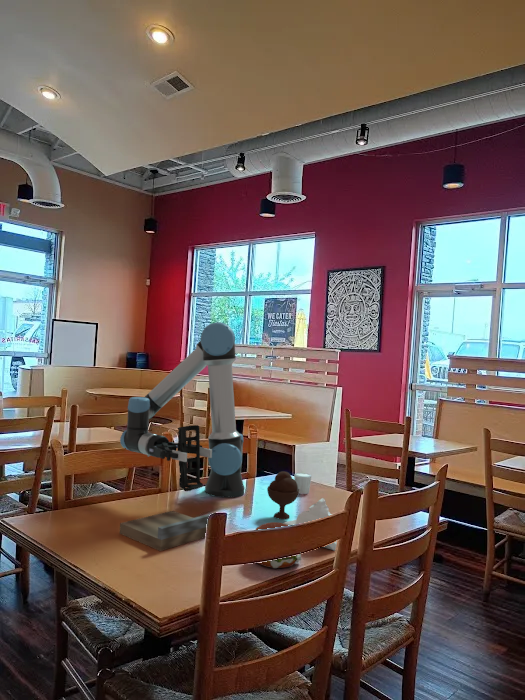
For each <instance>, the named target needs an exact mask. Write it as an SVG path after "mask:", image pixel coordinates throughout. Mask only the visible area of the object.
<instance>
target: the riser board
mask: <svg viewBox="0 0 525 700" xmlns="http://www.w3.org/2000/svg"><path fill="white" fill-rule="evenodd" d="M210 514H211V513H208V514H204V515H200V516H196V517H192V516H189V515H187V514H184V513H180V512H178V511H176V510H170V511H167V512H161V513H157V514H153V515H150V516H149V515H148V516H145V517H141V518H137V519H136V518H135V519H133V520H129V521H123V522H120V524H119V535H122V536H124V537H127V538H129V539H132V540H133V541H136V542H138V541H139V543H140V544H143V545H146V546H147V547H151V548H152V549H155V550H157V551H159V552H163V551H164V550H167V549H171V548H175V547H178V546H182V545H184V544H188V543H191V542H194V541H198V540H201V539H205V538H206V537H205V533H206V524H207V519H208V517H209V515H210Z"/></svg>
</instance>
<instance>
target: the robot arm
mask: <svg viewBox="0 0 525 700" xmlns="http://www.w3.org/2000/svg"><path fill="white" fill-rule="evenodd" d="M235 342H236V336H235V333H234V331H233V329H232V328H231V327H230V326H229V325H228V324H227V323H224V322H218V321H216V322H212V323H210V324H208V325H207V326H205V328H204V329H203V330H202V332H201V336H200V340H199V342H197V343H196V345H195V349H194V350H193V351H191V353H189V354H188V356H187V357H185V358H184V360H182V361H181V362H180V363H179V364H178V365H177V366H176V367H175V368H174V369H173V370H172V371H170V372H169V374H167V375H166V376H165V377H164V378H163V379H162V380H161V381H160V382H159V383H158V384H156V385H155V387H153V388H152V389H151V390H150V391H149V392H148V393H147V394H146V395H145V396H144V397H143V396H134V397H133V396H132V397H130V398H129V400H128V405H127V424H126V425H127V426H126V430H124V431H123V432H121V436H120V439H119V443H120V445H121V447H122V448H123V449H125V448H126V449H125V450H127V451H130V452H135V453H138V454H143V455H146V456H147V457H148V458H149V457H154V458H160V459H161V460H164V459H166V461H167V462H169V461H171V459H172V460H175V461H178V462H179V461H183V462H187V458H188V454H194V455H196V451H190V452H187V453H184V452H180V451H179V449H178V442H173V441H169V439H168V437H166V436H164V435H161V434H160V435H159V434H155V433H151V432H149V422H150V419H152V418H153V417H154V416H155V415H156V414H157V413H158V412H159V411H160V410H161V409H162V408H163V407H164V406H165V405H166V404H168V402H170V400H172V399H173V398H174V397H175V396H176V395H177V394H179V392H180V391H181V390H182V389H184V387H185V386H186V385H188V384H189V383H190V382H191V381H192V380H193V379H194V378H195V377H197V375H198V374H200V373H201V372H202V371H203V370H204V369H205V368H206V367H207V368H208V372H207V373H208V385H209V386H208V388H209V401H210V402H209V405H210V418H211V433H210V434H209V436H208V448H207V447H203V445H201V444H200V457H203V458H207V461H208V464H209V466H210V473H209V476H208V478H207V480H206V481H207V482H206V483H205V485H204V493H205V494H207V495H209V496H212V497H217V498H237V497H238V498H239V497H242V496H243V495H244V494H245V486H244V482H243V476H242V464H243V446H244V436H243V434H242V433H240V432H239V431H238V430H237V424H236V410H235V408H236V407H235V394H234V380H233V379H234V378H233V375H234V374H233V363H234V362H235V360H236V359H237V358H236V343H235ZM191 445H192V447H196V444H192V443H191ZM186 447H187V443H186ZM187 463H188V462H187Z"/></svg>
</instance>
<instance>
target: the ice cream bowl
mask: <svg viewBox="0 0 525 700" xmlns="http://www.w3.org/2000/svg"><path fill="white" fill-rule="evenodd" d="M267 494H268V497H269V498H270V499H271V501H272V502H274V503H276V504H277V505H278V506H279V510H278V511H277V512H276V513H274V514H273V518H275V517H276V518H275V519H277V518H279V519H278V520H289V519H290V514H289V513H287V512H285V508H286V506H288V505H290V504H292V503H294V502H295V501H296V500H297V498H298V495H299V489H298V485H297V483H296V481H295V480H294V478H293V477H292V475H291V473H289V472H288V471H284V470H283V471H282V470H281V471H279V472H278V473H276V475H275V478H274V480H272V481H271V482H270V484H269V485H268V486H267Z"/></svg>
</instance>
